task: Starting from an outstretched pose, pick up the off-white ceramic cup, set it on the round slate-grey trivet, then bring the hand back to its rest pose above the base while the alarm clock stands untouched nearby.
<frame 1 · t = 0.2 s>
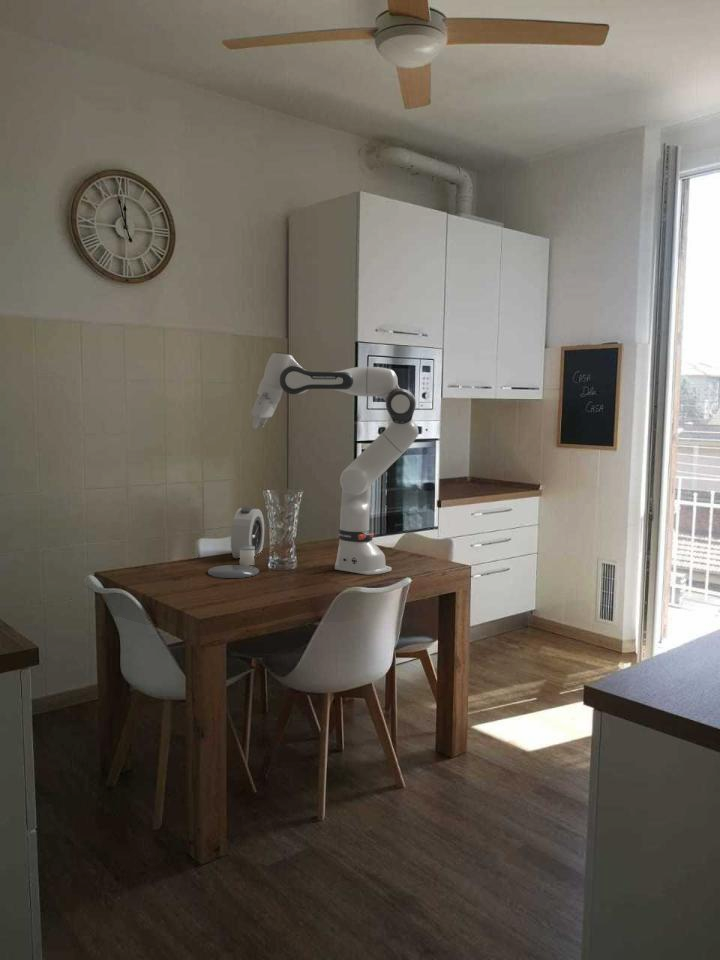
hand: (257, 427, 289), 52 cm above the table, tool tilted 20°, fingers open, 8 cm apart
cup: (246, 564, 289), on the table
trivet: (233, 572, 275), on the table
alarm clock: (247, 556, 307), on the table
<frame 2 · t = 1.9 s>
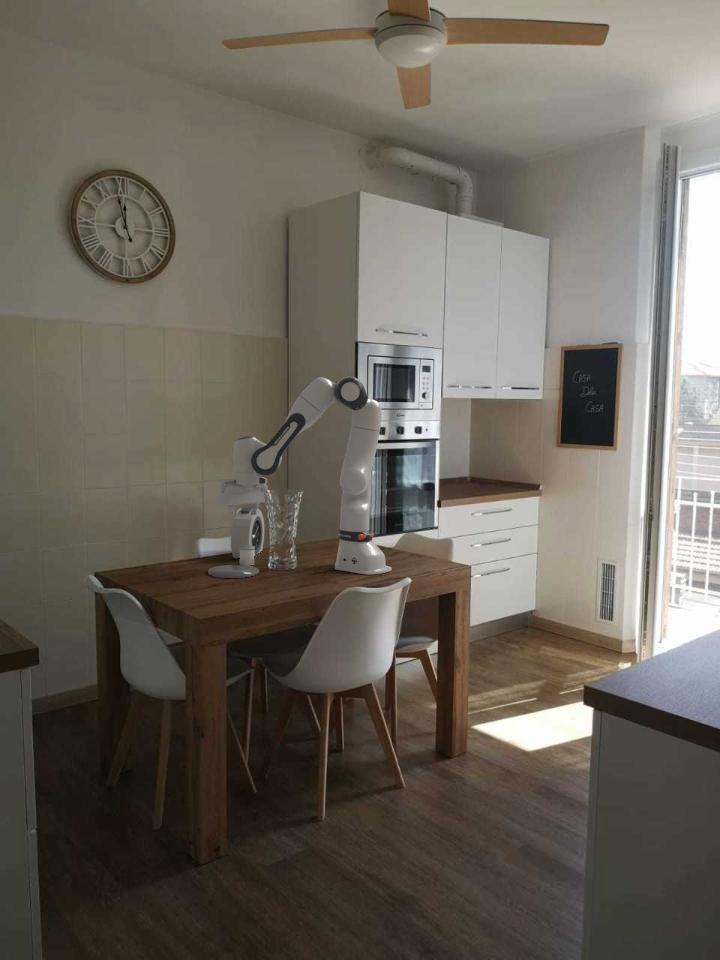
hand: (243, 516, 289), 18 cm above the table, tool pointing down, fingers open, 8 cm apart
nothing on the table moved.
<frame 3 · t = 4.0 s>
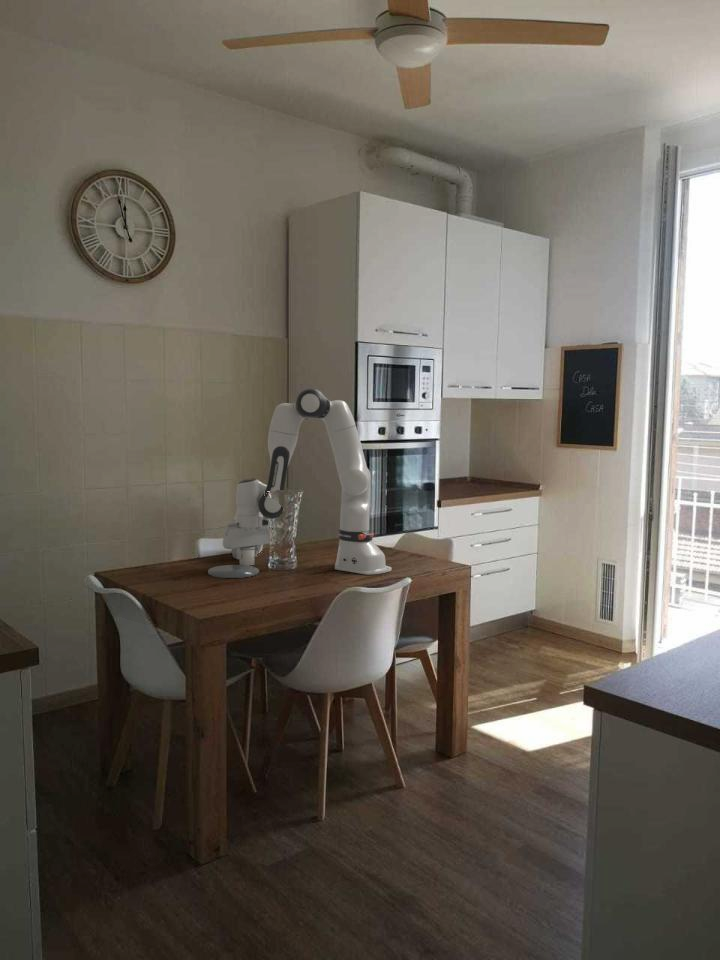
hand: (247, 558, 289), 3 cm above the table, tool pointing down, fingers closed on cup, 5 cm apart
cup: (246, 564, 289), on the table, touching gripper
everything else where it was.
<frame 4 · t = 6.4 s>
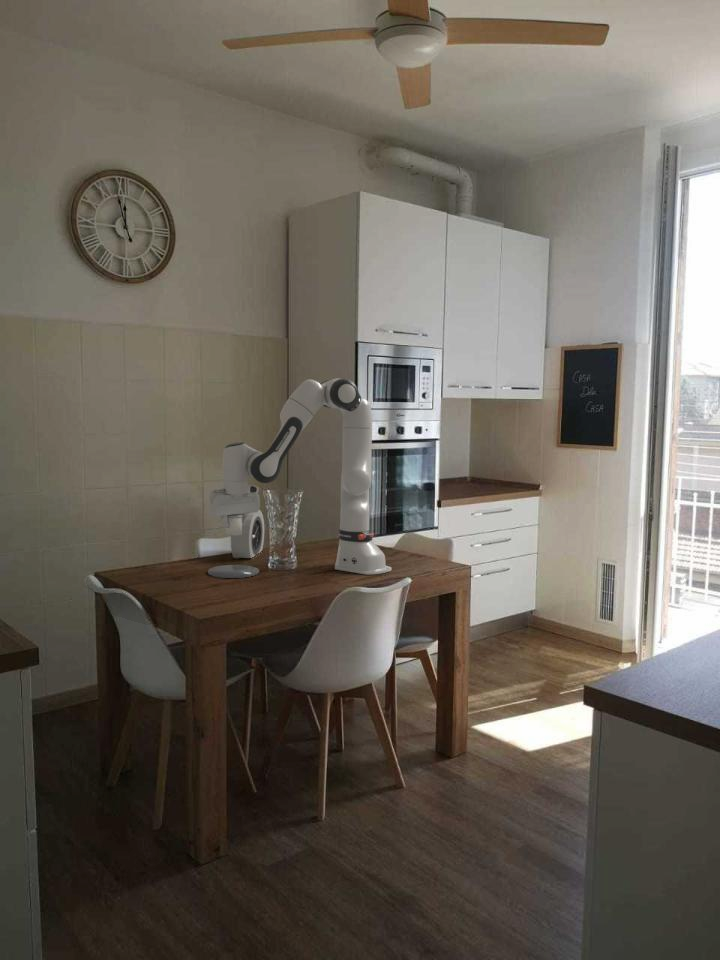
hand: (234, 526, 274), 17 cm above the table, tool pointing down, fingers closed on cup, 5 cm apart
cup: (234, 534, 274), point 14 cm above the table, touching gripper
everything else where it was.
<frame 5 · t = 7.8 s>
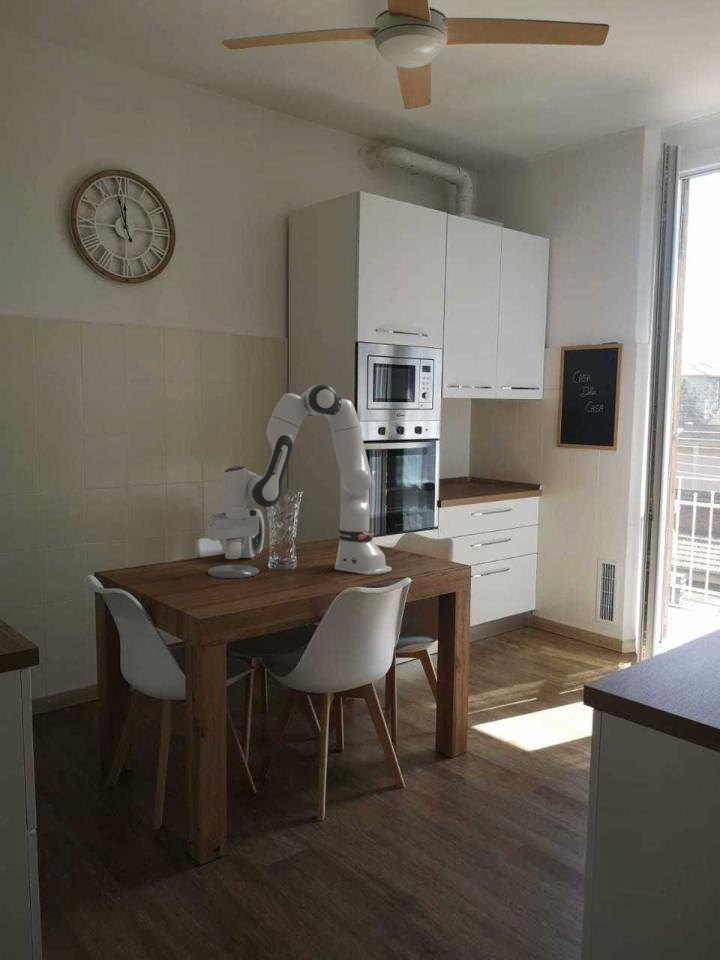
hand: (233, 550, 275), 8 cm above the table, tool pointing down, fingers closed on cup, 5 cm apart
cup: (233, 557, 275), point 6 cm above the table, touching gripper
everything else where it was.
when the fingers open (5 cm above the table, at t = 8.9 s): cup drops 1 cm, resting on trivet.
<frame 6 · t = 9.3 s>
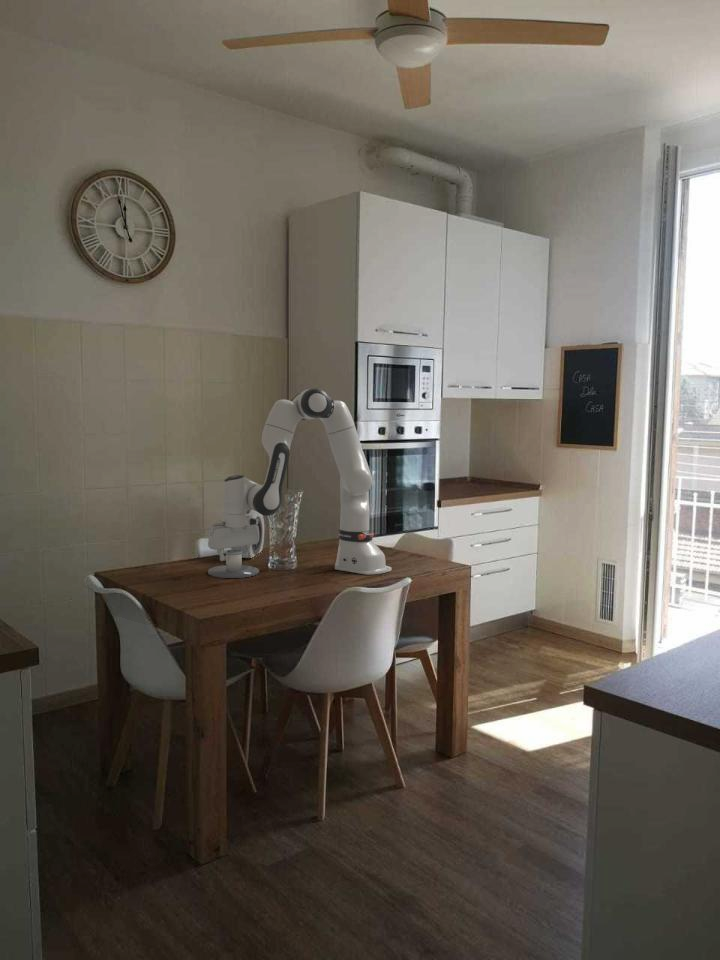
hand: (233, 559, 275), 5 cm above the table, tool pointing down, fingers open, 8 cm apart
cup: (233, 570, 275), point 1 cm above the table, touching trivet
everything else where it was.
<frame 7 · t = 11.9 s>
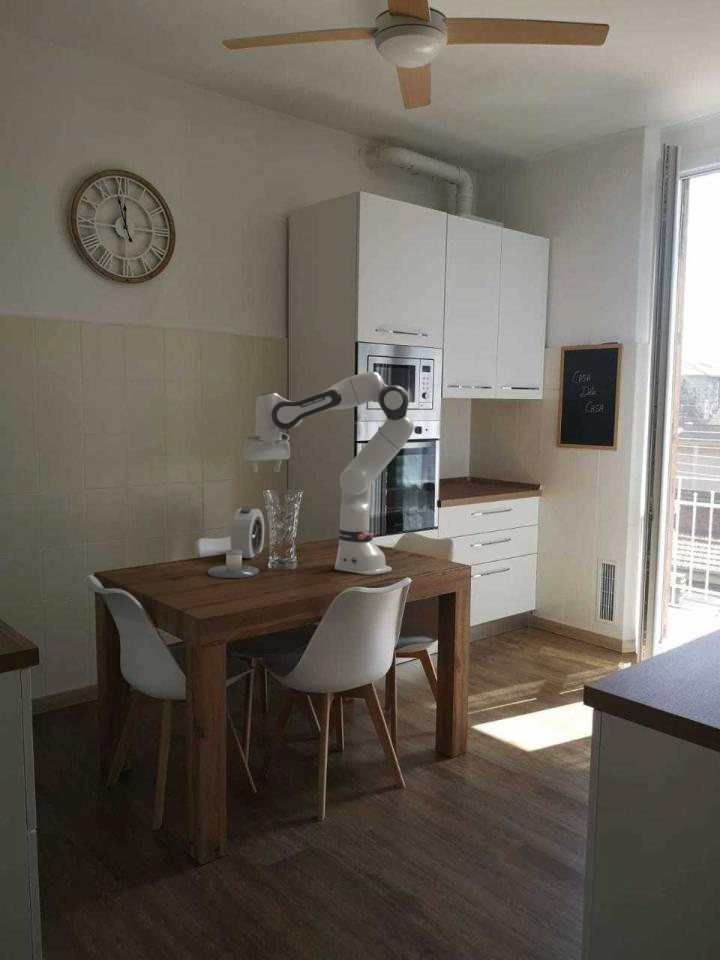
hand: (266, 472, 291), 35 cm above the table, tool pointing down, fingers open, 8 cm apart
nothing on the table moved.
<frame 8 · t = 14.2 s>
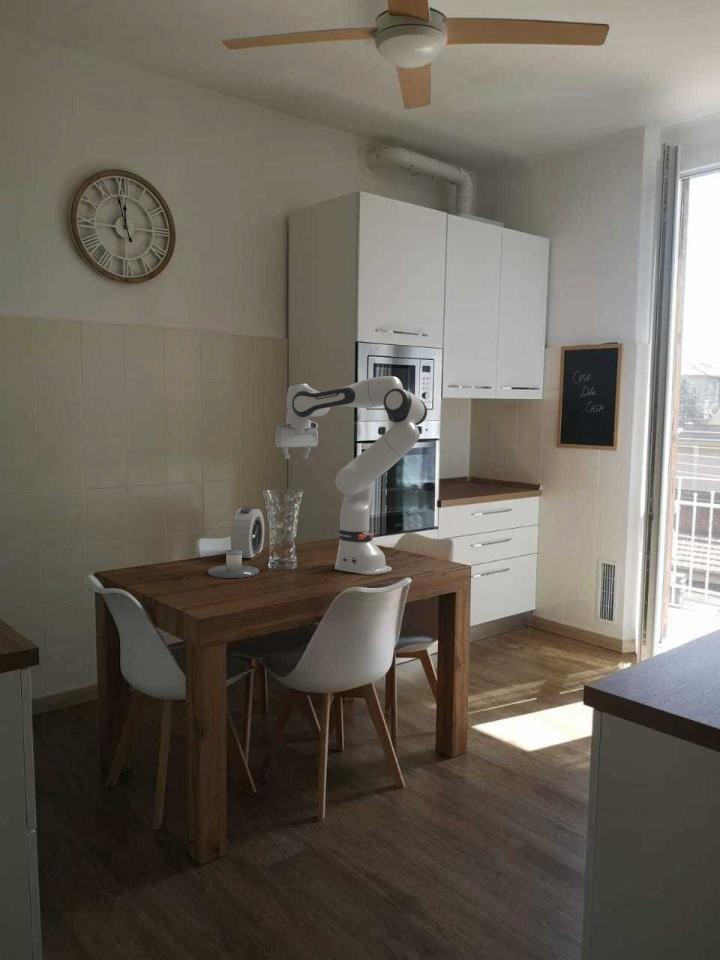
hand: (296, 458, 309), 39 cm above the table, tool pointing down, fingers open, 8 cm apart
nothing on the table moved.
at the end: cup 0.1 cm from the trivet (horizontally); cup point 1.0 cm above the table; cup tilted 0° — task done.
